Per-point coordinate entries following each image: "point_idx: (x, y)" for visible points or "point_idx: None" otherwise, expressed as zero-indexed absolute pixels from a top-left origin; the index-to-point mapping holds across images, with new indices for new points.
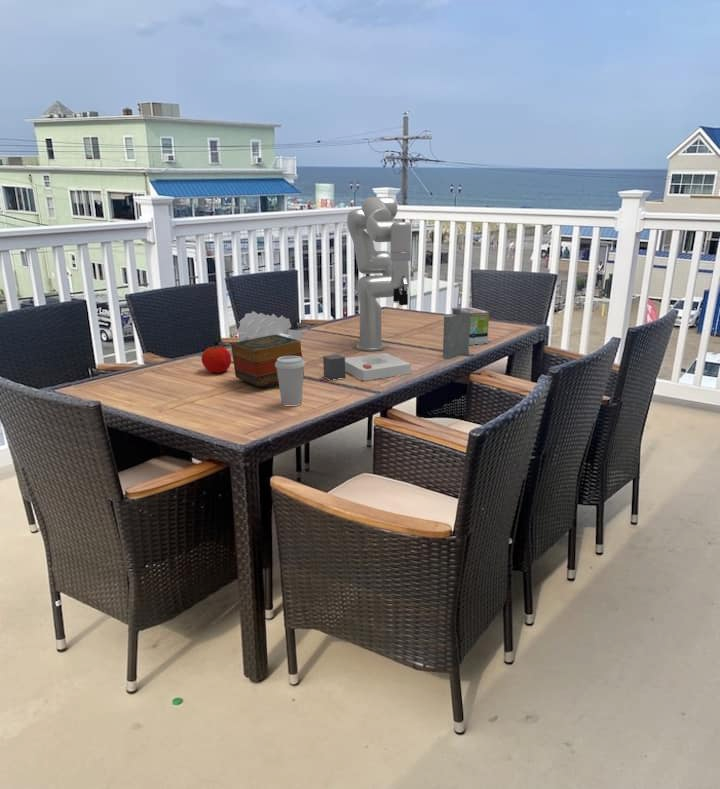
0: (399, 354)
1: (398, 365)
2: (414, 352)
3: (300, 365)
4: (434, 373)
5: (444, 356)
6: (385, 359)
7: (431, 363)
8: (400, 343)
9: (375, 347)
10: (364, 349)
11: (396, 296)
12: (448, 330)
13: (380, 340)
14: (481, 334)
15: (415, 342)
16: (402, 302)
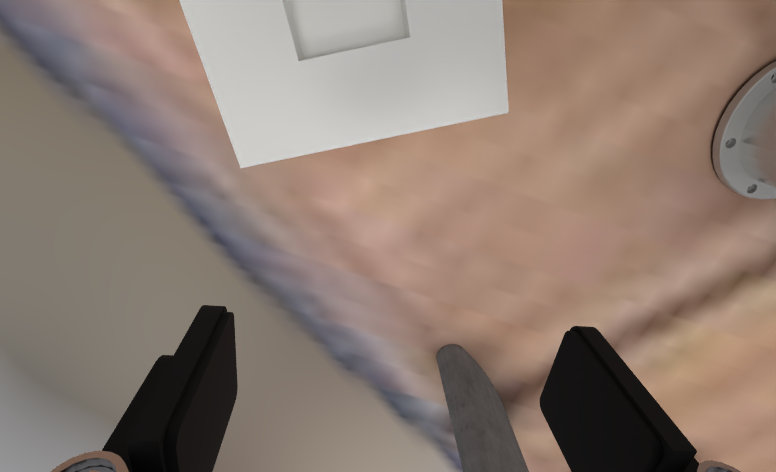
0: (594, 216)
1: (216, 93)
2: (590, 282)
3: None
4: (246, 248)
5: (446, 352)
6: (364, 66)
7: (398, 286)
8: (760, 278)
9: (741, 139)
10: (760, 75)
11: (590, 403)
12: (460, 454)
13: (772, 181)
14: None
15: (731, 333)
16: (162, 360)
